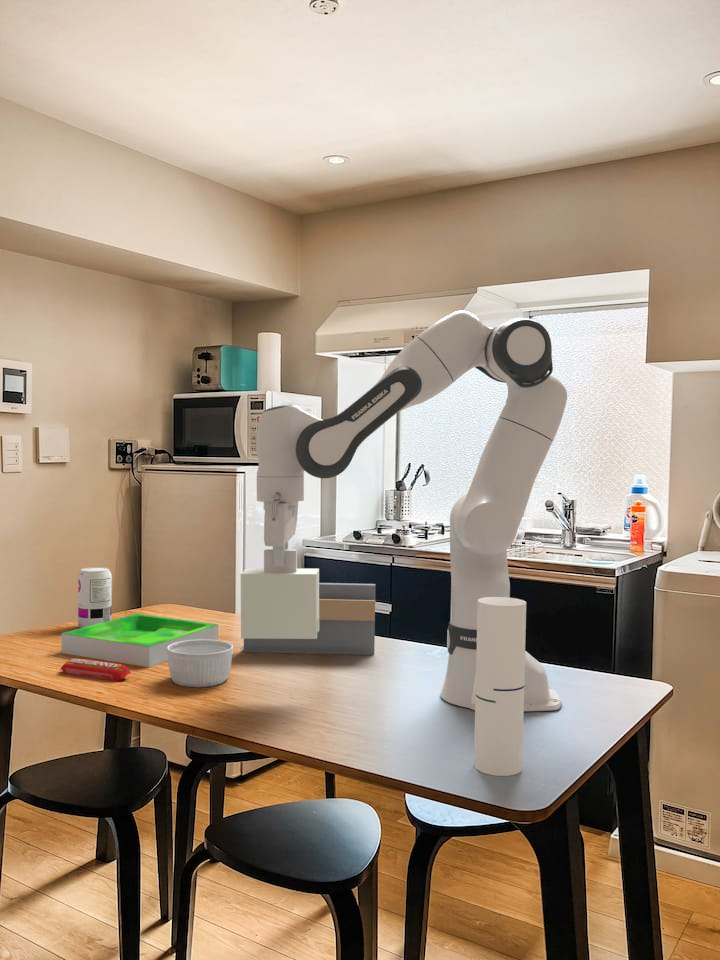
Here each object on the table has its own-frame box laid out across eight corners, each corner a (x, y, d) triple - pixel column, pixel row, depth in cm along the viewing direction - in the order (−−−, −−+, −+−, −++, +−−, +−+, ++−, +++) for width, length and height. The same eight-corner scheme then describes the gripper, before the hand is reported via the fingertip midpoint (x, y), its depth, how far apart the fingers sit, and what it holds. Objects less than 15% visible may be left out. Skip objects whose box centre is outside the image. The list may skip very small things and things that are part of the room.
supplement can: (73, 630, 210) (73, 571, 209) (85, 623, 218) (85, 566, 218) (104, 631, 210) (105, 572, 209) (115, 624, 218) (116, 567, 217)
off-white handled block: (319, 630, 161) (319, 547, 160) (316, 638, 154) (316, 552, 153) (247, 629, 161) (246, 547, 160) (241, 638, 154) (240, 552, 153)
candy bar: (57, 674, 171) (57, 660, 171) (69, 670, 175) (69, 656, 175) (121, 683, 165) (121, 668, 165) (133, 679, 169) (133, 664, 169)
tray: (149, 669, 177) (149, 646, 177) (61, 655, 188) (61, 633, 187) (218, 644, 200) (218, 624, 199) (136, 633, 210) (136, 613, 210)
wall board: (374, 648, 196) (375, 581, 196) (374, 658, 187) (375, 587, 187) (247, 645, 197) (248, 578, 196) (241, 655, 188) (242, 584, 187)
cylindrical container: (522, 777, 121) (526, 607, 120) (473, 773, 122) (476, 604, 121) (521, 759, 128) (525, 598, 127) (474, 755, 129) (478, 595, 128)
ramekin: (214, 668, 177) (214, 635, 177) (245, 682, 167) (245, 648, 167) (155, 677, 169) (156, 644, 169) (184, 693, 159) (184, 657, 159)
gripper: (291, 495, 146) (291, 573, 146) (302, 488, 166) (302, 557, 167) (255, 495, 146) (255, 573, 146) (270, 488, 166) (271, 557, 167)
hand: (280, 565), depth 157 cm, fingers closed on off-white handled block
